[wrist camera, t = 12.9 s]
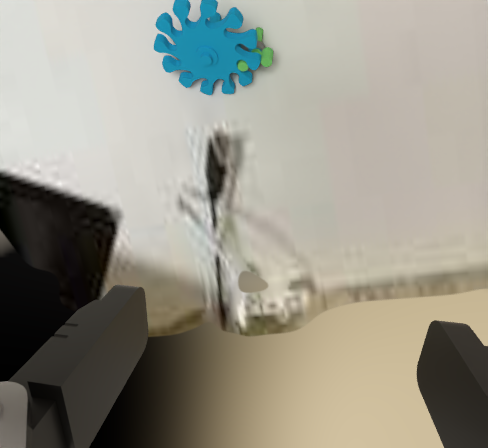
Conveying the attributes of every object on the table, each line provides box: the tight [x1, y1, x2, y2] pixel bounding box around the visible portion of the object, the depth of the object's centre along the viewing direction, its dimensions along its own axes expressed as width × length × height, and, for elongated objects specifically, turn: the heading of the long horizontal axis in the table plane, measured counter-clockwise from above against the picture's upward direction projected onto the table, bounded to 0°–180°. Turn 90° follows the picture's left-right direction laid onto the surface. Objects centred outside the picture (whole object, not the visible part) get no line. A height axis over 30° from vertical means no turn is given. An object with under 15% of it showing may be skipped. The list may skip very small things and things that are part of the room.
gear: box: [154, 0, 273, 95], centre depth 32 cm, size 11×6×10 cm
